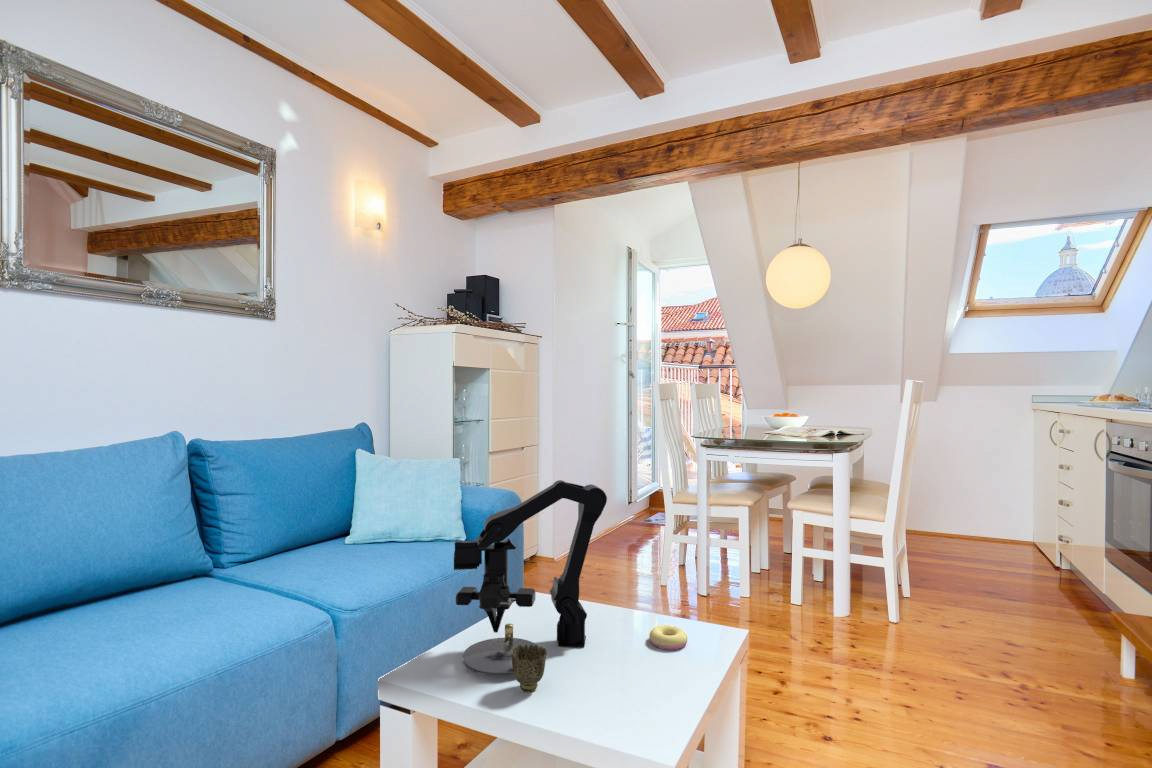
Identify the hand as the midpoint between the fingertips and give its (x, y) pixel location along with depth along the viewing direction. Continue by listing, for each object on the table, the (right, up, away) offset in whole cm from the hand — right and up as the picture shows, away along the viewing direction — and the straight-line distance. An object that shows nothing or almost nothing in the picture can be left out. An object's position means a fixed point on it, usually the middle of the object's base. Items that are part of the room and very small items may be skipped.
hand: (496, 632), depth 146 cm
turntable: (+3, -2, -8) cm, 9 cm away
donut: (+43, -5, +4) cm, 43 cm away
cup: (+10, -4, -21) cm, 23 cm away
